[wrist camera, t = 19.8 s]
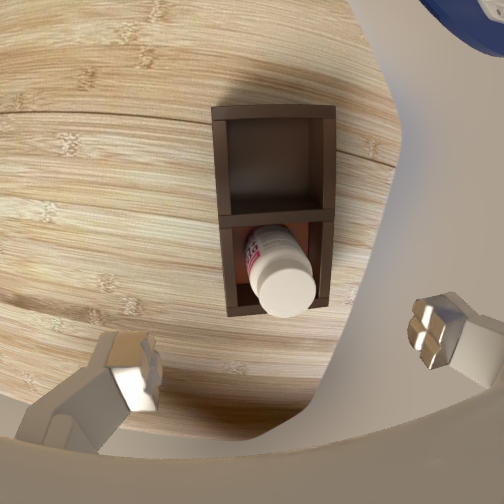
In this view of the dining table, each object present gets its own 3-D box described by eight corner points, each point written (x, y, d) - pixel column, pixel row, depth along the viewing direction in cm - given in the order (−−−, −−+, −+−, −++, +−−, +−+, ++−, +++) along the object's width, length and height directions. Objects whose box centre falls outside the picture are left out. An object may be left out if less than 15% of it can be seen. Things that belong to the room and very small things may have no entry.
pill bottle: (239, 225, 28) (249, 268, 20) (293, 218, 28) (322, 256, 21) (246, 273, 30) (257, 327, 22) (296, 266, 30) (322, 316, 23)
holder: (212, 109, 25) (211, 107, 20) (317, 107, 25) (335, 105, 21) (225, 290, 31) (227, 317, 27) (314, 282, 32) (328, 306, 28)
